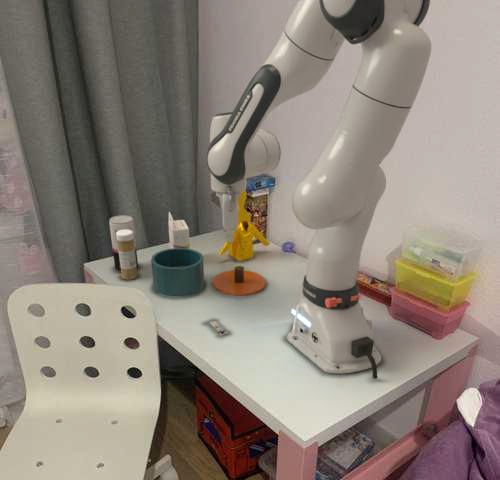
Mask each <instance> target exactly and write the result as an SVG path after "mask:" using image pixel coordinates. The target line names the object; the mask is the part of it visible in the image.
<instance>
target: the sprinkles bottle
mask: <svg viewBox="0 0 500 480" xmlns="http://www.w3.org/2000/svg"><path fill="white" fill-rule="evenodd" d="M116 238H117V241H118V251H119V259H120V267H121V272H120V273H121V278H122V279H124V280H127V281H131V280H135V279H136V278H137V277H138V270H137V269H138V267H137V268H136V256H135V248H134V241H133V240H134V239H133V238H134V235H133V231H131V230H119V231H117V232H116Z"/></svg>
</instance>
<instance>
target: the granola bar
mask: <svg viewBox="0 0 500 480" xmlns="http://www.w3.org/2000/svg"><path fill="white" fill-rule="evenodd" d="M209 324H210V325H211V326H213V327H214V328H215V329H216V330H217V334H218V335H219V336H220V337H222V336H224V335H227V334H229V332H228V331H227V330H226V329H225V328H224V327H223V326H222V325H221V324H219V323H218V322H217V321H215V320H213V321H210V322H209Z"/></svg>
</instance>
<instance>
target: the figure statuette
mask: <svg viewBox="0 0 500 480" xmlns="http://www.w3.org/2000/svg"><path fill="white" fill-rule="evenodd" d="M247 194H248V193H247V190H246V189H245V190H244V191H242V192H241V196H240V197H237V200H238V229H237V230H234V235H233V242H227V241H225V243H224V245H223V246H222V248H221V250H220V251H219V254H218V255H220V256H223V255H224V254H225V253H226V252H227V251H228V254H229V256H231V257H232V258H233V259H235V260H237V261H245V260H250V259H252V258H254V257H255V256H254V255H255V254H254V244H253V242H254V241H253V239H254V237H255V238H256V239H257V240H258V241H259V242H260V243H261V244H262V245H264V246H265V247H267V246H270V245H271V244H270V242H269V241H268V239H267V238H265V236H264V235H263V234H262V233H261V232H260V231H259V229H258V228H257V227H256V225H255V224H254V223H251V222H252V217H251V215H250V214H249V212H248V211H247V209H246V208H245V203H246V200H247V196H248V195H247Z"/></svg>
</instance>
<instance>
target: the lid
mask: <svg viewBox="0 0 500 480" xmlns="http://www.w3.org/2000/svg"><path fill="white" fill-rule="evenodd" d="M212 286H213V288H214V289H215V290H217V291H218V292H220V293H223V294H225V295H230V296H249V295H254V294H257V293H259V292H261V291H263V290H264V288H265V286H266V279H265V278H264V276H262V275H261V274H259V273H258V272H254V271H252V270H245V267H244V266H242V265H237V266H234V269H231V270H226V271H223V272H219V273H218V274H217V275H215V276H214V277H213V278H212Z"/></svg>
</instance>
